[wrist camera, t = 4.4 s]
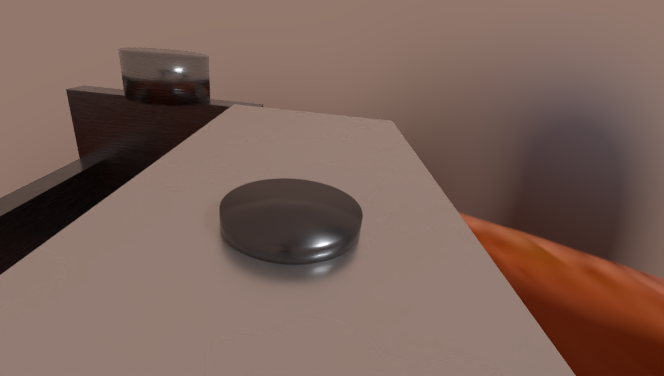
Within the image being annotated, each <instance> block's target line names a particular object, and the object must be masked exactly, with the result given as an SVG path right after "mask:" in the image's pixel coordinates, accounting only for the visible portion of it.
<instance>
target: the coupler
mask: <svg viewBox="0 0 664 376" xmlns="http://www.w3.org/2000/svg"><path fill="white" fill-rule="evenodd" d="M119 57H120V65H121V72H122V80H123V87H124V90H120V89H111V88H102V87H92V86H80V87H75V88H70V89H67V90H66V91H67V96H68V101H69V106H70V111H71V116H72V121H73V126H74V132H75V136H76V141H77V146H78V151H79V157H80V159H78V160H76V161H75V162H73V163H70V164H69V165H66V166H64V167H62V168H60V169H58V170H56V171H54V172H52V173H50V174H48V175H46V176H44V177H42V178H40V179H38V180H36V181H34V182H32V183H30V184H28V185H26V186H24V187H22V188H20V189H18V190H16V191H14V192H12V193H10V194H8V195H6V196H4V197H2V198H0V275H1V274H2V273H4V272H5V271H6V270H8V269H9V268H11V267H12V266H13V265H15V264H16V263H17V262H19V261H20V260H22V259H23V258H24V257H26V256H27V255H28V254H30V253H31V252H32V251H34V250H35V249H37V248H38V247H39V246H41V245H42V244H43V243H45V242H46V241H48V240H49V239H50V238H52V237H53V236H54V235H56V234H57V233H59V232H60V231H61V230H63V229H64V228H65V227H67V226H68V225H69V224H71V223H72V222H74V221H75V220H76V219H78V218H79V217H80V216H82V215H83V214H85V213H86V212H87V211H89V210H90V209H91V208H93V207H94V206H96V205H97V204H98V203H100V202H101V201H102V200H104V199H105V198H106V197H108V196H109V195H111V194H112V193H113V192H115V191H116V190H117V189H119V188H120V187H122V186H123V185H124V184H126V183H127V182H128V181H130V180H131V179H132V178H134V177H135V176H137V175H138V174H139V173H141V172H142V171H143V170H145V169H146V168H148V167H149V166H150V165H152V164H153V163H154V162H156V161H157V160H159V159H160V158H161V157H163V156H164V155H165V154H167V153H168V152H169V151H171V150H172V149H174V148H175V147H176V146H178V145H179V144H180V143H182V142H183V141H185V140H186V139H187V138H189V137H190V136H191V135H193V134H194V133H195V132H197V131H198V130H200V129H201V128H202V127H204V126H205V125H206V124H208V123H209V122H211V121H212V120H213V119H215V118H216V117H217V116H219V115H220V114H222V113H223V112H224V111H226V110H227V109H228V108H230V107H231V106H232V105H234V104H237V105H246V106H256V107H263V105H261V104H251V103H242V102H233V101H224V100H214V99H210V82H209V57H208V55H205V54H200V53H195V52H187V51H179V50H168V49H155V48H120V49H119Z"/></svg>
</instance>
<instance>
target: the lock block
mask: <svg viewBox="0 0 664 376" xmlns="http://www.w3.org/2000/svg"><path fill="white" fill-rule="evenodd" d="M0 376H576V375H575V374H574V373H573V371H572V370H571V368H570V367H569V366H568V364H567V363H566V362H565V360H564V359H563V357H562V356H561V355H560V353H559V352H558V350H557V349H556V348H555V346H554V345H553V343H552V342H551V341H550V339H549V338H548V337H547V335H546V334H545V332H544V331H543V330H542V328H541V327H540V325H539V324H538V323H537V321H536V320H535V319H534V317H533V316H532V314H531V313H530V312H529V310H528V309H527V307H526V306H525V305H524V303H523V302H522V300H521V299H520V298H519V296H518V295H517V294H516V292H515V291H514V289H513V288H512V287H511V285H510V284H509V282H508V281H507V280H506V278H505V277H504V276H503V274H502V273H501V271H500V270H499V269H498V267H497V266H496V264H495V263H494V262H493V260H492V259H491V258H490V256H489V255H488V253H487V252H486V251H485V249H484V248H483V246H482V245H481V244H480V242H479V241H478V239H477V238H476V237H475V235H474V234H473V233H472V231H471V230H470V228H469V227H468V226H467V224H466V223H465V221H464V220H463V219H462V217H461V216H460V215H459V213H458V212H457V210H456V209H455V208H454V206H453V205H452V203H451V202H450V201H449V199H448V198H447V196H446V195H445V194H444V192H443V191H442V190H441V188H440V187H439V185H438V184H437V183H436V181H435V180H434V179H433V177H432V176H431V174H430V173H429V172H428V170H427V169H426V168H425V166H424V165H423V163H422V162H421V160H420V159H419V158H418V156H417V155H416V154H415V152H414V151H413V149H412V148H411V147H410V145H409V144H408V142H407V141H406V140H405V138H404V137H403V135H402V134H401V133H400V131H399V130H398V129H397V127H396V126H395V125H394V123H393V122H392V121H387V120H378V119H369V118H360V117H350V116H340V115H331V114H322V113H312V112H303V111H294V110H284V109H275V108H265V107H256V106H246V105H237V104H234V105H232V106H231V107H230V108H228V109H227V110H226V111H224V112H223V113H222V114H220V115H219V116H217V117H216V118H215V119H213V120H212V121H211V122H209V123H208V124H206V125H205V126H204V127H202V128H201V129H200V130H198V131H197V132H195V133H194V134H193V135H191V136H190V137H189V138H187V139H186V140H185V141H183V142H182V143H180V144H179V145H178V146H176V147H175V148H174V149H172V150H171V151H169V152H168V153H167V154H165V155H164V156H163V157H161V158H160V159H159V160H157V161H156V162H154V163H153V164H152V165H150V166H149V167H148V168H146V169H145V170H143V171H142V172H141V173H139V174H138V175H137V176H135V177H134V178H132V179H131V180H130V181H128V182H127V183H126V184H124V185H123V186H122V187H120V188H119V189H117V190H116V191H115V192H113V193H112V194H111V195H109V196H108V197H106V198H105V199H104V200H102V201H101V202H100V203H98V204H97V205H96V206H94V207H93V208H91V209H90V210H89V211H87V212H86V213H85V214H83V215H82V216H80V217H79V218H78V219H76V220H75V221H74V222H72V223H71V224H69V225H68V226H67V227H65V228H64V229H63V230H61V231H60V232H59V233H57V234H56V235H54V236H53V237H52V238H50V239H49V240H48V241H46V242H45V243H43V244H42V245H41V246H39V247H38V248H37V249H35V250H34V251H32V252H31V253H30V254H28V255H27V256H26V257H24V258H23V259H22V260H20V261H19V262H17V263H16V264H15V265H13V266H12V267H11V268H9V269H8V270H6V271H5V272H4V273H2V274H1V275H0Z"/></svg>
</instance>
